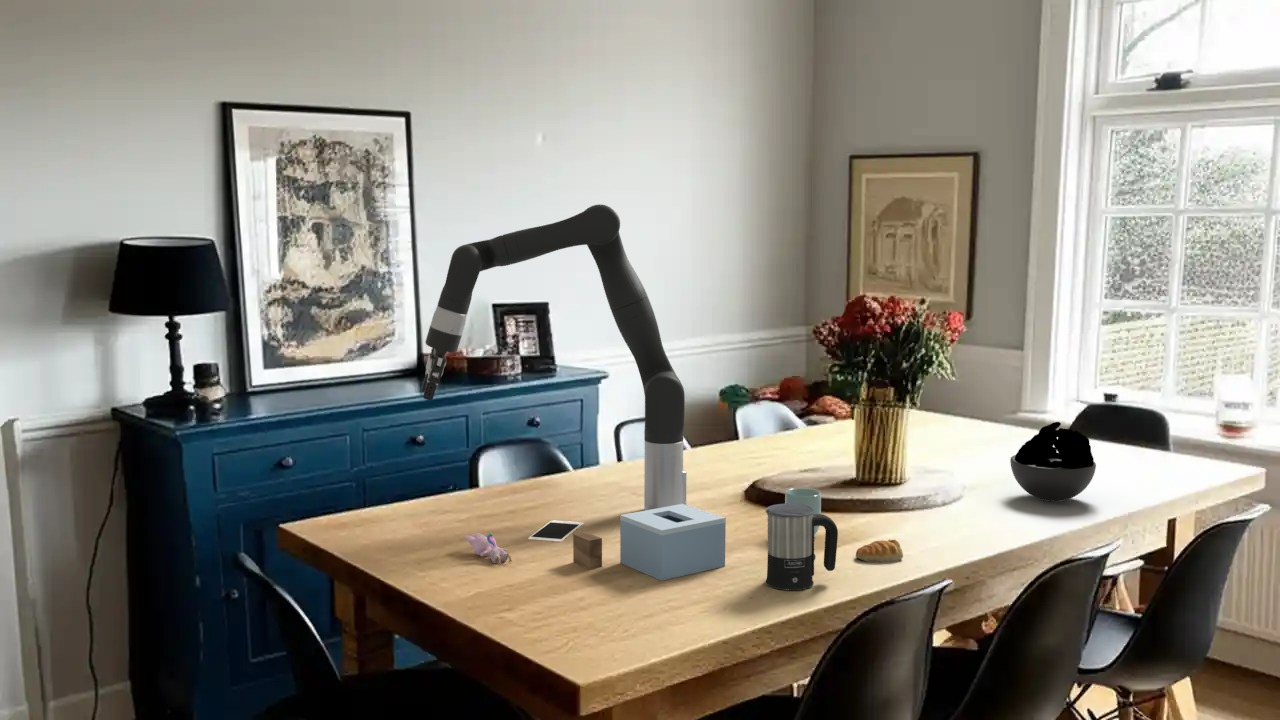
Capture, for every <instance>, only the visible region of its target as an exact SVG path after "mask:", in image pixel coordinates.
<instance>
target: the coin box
mask: <svg viewBox="0 0 1280 720" xmlns="http://www.w3.org/2000/svg"><path fill="white" fill-rule="evenodd" d="M726 521H727V520H726V517H724V516H720V515H718V514H715V513H713V512H709V511H706V510H703V509H699V508H697V507H694V506H691V505H689V504H688V505H687V504H686V505H685V504H679V505H673V506H668V507H662V508H657V509H651V510H646V511H644V510H640V511H636V512H631V513H625V514H620V520H619V523H620V527H619V529H620V531H619V532H620V533H619V534H620V536H619V537H620V540H619V542H620V544H619V547H620V551H619V552H620V562H619V563H620V564H622V565H624V566H625V567H626V566H627V567H629V568H632V569H633V570H636V571H638V572H641V573H643V574H646V575H648V576H650V577H652V578H655V579H657V580H659V581H666V580H669V579H674V578H678V577H679V578H680V577H682V576H687V575H691V574H692V575H693V574H696V573H702V572H705V571H706V572H707V571H710V570H714V569H718V568H722V567H723V568H724V567H725V566H726V523H727V522H726Z"/></svg>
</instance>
